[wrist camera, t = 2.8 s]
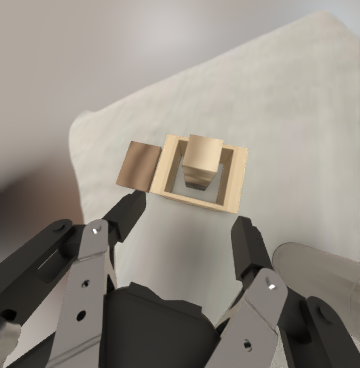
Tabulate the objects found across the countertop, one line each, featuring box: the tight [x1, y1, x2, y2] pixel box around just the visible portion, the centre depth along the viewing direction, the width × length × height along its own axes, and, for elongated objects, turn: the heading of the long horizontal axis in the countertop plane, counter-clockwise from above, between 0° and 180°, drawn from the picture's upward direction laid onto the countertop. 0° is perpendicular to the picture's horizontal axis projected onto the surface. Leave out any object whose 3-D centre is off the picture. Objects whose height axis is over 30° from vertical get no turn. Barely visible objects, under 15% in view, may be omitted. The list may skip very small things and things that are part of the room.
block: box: [182, 135, 224, 191], centre depth 26 cm, size 5×5×16 cm
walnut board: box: [116, 141, 162, 193], centre depth 35 cm, size 9×13×2 cm
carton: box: [150, 134, 248, 214], centre depth 30 cm, size 18×14×8 cm
